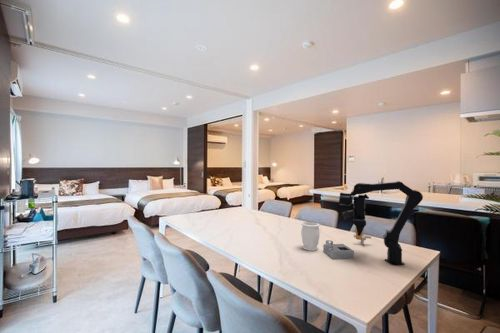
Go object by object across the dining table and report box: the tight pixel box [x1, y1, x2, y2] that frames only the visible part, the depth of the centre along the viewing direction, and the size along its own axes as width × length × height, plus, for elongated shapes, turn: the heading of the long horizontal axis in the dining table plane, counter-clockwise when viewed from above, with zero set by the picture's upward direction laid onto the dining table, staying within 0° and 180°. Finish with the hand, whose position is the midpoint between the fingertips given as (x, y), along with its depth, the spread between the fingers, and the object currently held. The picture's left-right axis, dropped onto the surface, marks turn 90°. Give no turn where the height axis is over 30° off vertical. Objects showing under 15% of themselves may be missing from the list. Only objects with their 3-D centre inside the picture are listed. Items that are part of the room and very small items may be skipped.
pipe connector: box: [353, 228, 372, 246], centre depth 152 cm, size 10×10×10 cm
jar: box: [301, 221, 321, 252], centre depth 143 cm, size 11×10×15 cm
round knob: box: [355, 227, 362, 241], centre depth 131 cm, size 4×4×8 cm
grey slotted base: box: [323, 239, 355, 260], centre depth 133 cm, size 12×12×6 cm
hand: (359, 234), depth 131 cm, fingers closed on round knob, 3 cm apart
